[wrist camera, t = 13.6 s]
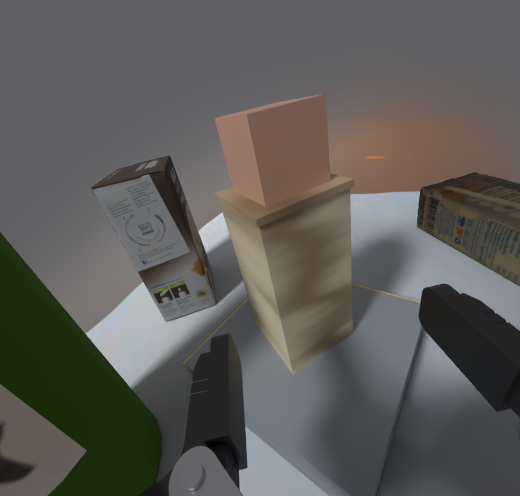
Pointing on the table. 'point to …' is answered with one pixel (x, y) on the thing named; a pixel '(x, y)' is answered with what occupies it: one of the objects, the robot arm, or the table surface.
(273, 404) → the dock
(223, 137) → the cube
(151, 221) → the coffee box
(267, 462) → the table surface
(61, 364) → the wine bottle
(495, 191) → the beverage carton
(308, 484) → the table surface
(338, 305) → the wooden block
